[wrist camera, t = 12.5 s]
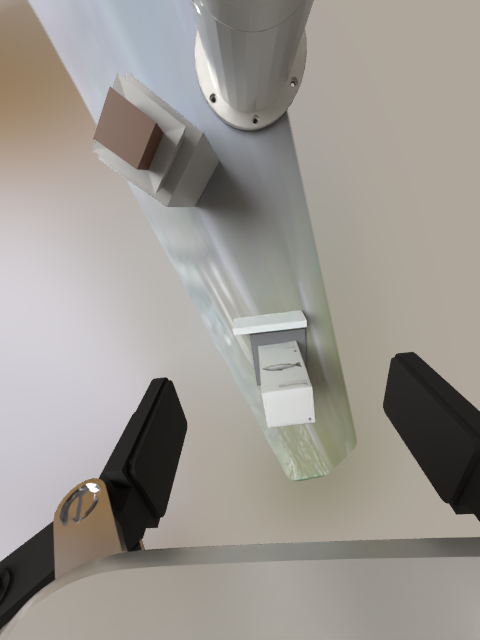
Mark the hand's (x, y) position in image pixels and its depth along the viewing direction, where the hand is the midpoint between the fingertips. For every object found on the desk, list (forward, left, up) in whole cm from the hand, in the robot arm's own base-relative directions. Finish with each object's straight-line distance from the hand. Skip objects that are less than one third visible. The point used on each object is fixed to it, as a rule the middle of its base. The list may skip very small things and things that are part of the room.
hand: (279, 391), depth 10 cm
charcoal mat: (+20, +2, -30) cm, 36 cm away
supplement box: (+20, +2, -30) cm, 36 cm away
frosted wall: (+11, +1, -30) cm, 32 cm away
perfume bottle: (-13, -8, -30) cm, 34 cm away
